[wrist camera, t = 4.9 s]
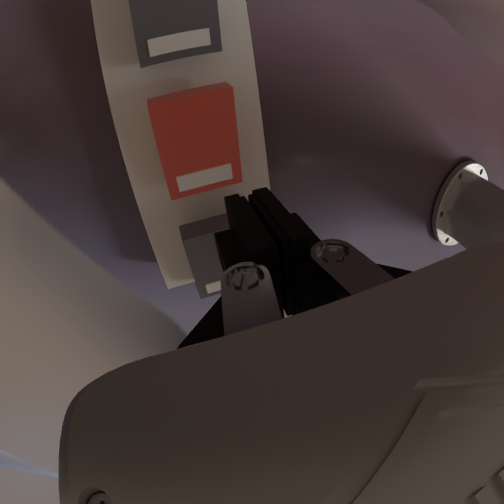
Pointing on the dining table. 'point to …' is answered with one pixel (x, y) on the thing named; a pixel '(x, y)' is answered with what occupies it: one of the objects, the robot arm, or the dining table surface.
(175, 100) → the red rocker
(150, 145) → the rocker switch panel
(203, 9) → the charcoal rocker
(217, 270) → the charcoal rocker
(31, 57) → the dining table surface
